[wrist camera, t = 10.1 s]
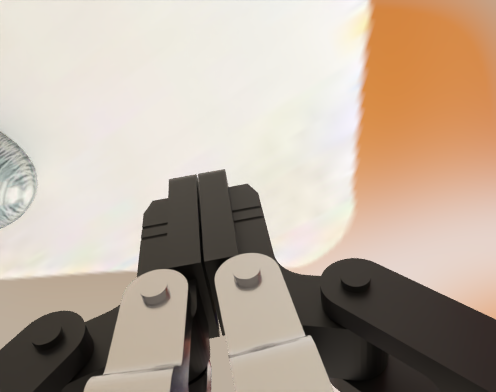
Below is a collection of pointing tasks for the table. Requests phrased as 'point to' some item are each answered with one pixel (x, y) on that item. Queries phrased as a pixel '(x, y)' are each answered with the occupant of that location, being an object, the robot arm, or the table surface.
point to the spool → (15, 181)
